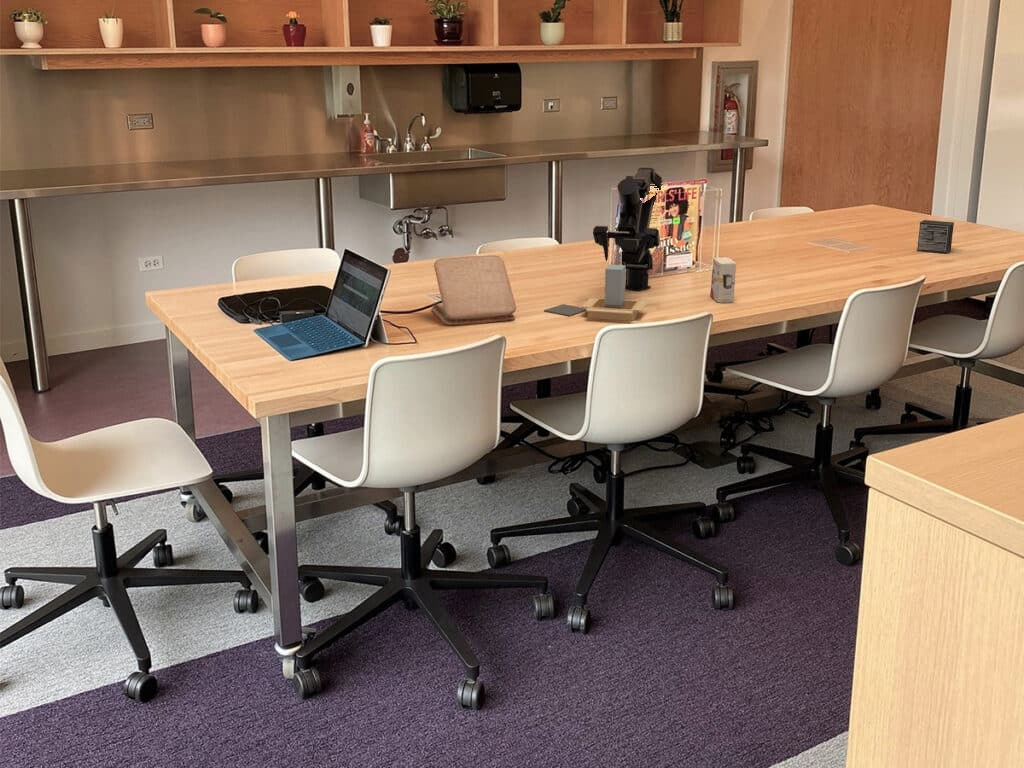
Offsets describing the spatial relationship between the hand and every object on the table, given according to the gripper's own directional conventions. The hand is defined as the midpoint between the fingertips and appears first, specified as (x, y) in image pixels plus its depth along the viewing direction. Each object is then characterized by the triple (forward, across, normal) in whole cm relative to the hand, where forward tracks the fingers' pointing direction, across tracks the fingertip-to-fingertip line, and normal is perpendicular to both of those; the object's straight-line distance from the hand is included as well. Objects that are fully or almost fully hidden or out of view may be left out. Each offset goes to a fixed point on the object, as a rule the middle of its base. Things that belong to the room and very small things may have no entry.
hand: (622, 260), depth 317 cm
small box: (-66, -92, -86) cm, 142 cm away
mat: (+15, +14, -4) cm, 21 cm away
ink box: (-2, -27, -21) cm, 35 cm away
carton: (+16, 0, -3) cm, 16 cm away
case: (+24, +38, +4) cm, 45 cm away
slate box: (+15, 0, -3) cm, 16 cm away
